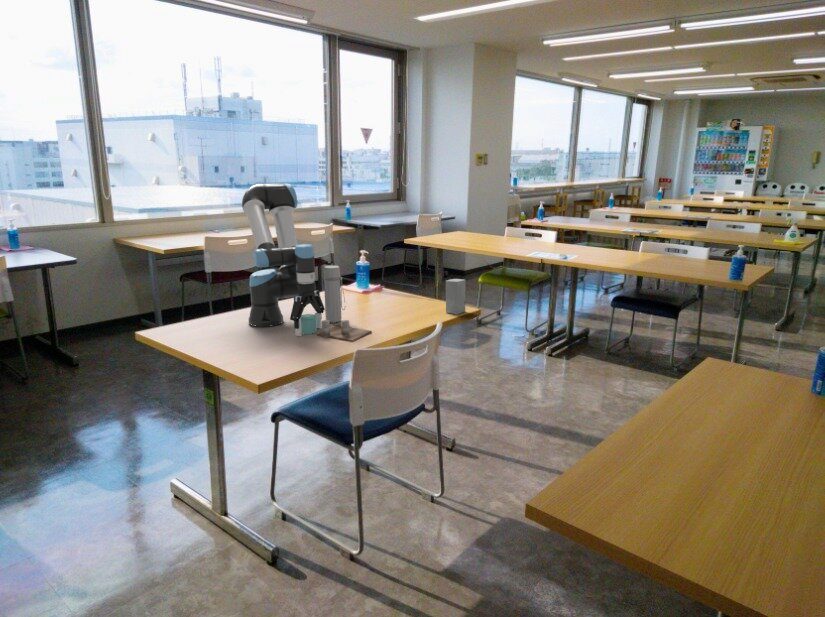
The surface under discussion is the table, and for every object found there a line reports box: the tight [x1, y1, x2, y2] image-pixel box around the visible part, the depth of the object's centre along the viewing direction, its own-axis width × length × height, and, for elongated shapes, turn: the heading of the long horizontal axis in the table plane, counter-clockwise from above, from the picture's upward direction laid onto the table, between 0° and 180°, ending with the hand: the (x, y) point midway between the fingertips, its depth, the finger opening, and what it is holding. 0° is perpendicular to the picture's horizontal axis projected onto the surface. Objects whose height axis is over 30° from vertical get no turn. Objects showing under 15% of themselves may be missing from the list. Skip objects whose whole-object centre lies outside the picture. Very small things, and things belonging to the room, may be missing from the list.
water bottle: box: [323, 265, 346, 324], centre depth 249 cm, size 9×8×25 cm
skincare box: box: [445, 278, 466, 316], centre depth 264 cm, size 8×7×16 cm
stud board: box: [316, 319, 373, 343], centre depth 232 cm, size 18×15×6 cm
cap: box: [299, 313, 318, 335], centre depth 235 cm, size 6×6×7 cm
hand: (308, 331), depth 236 cm, fingers open, 12 cm apart
